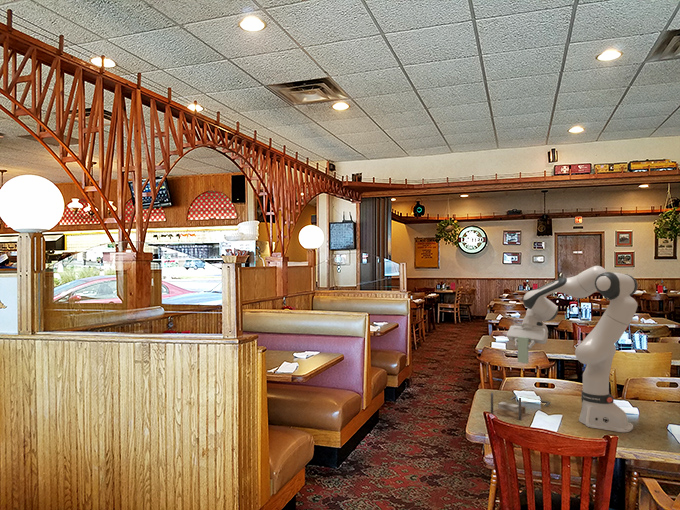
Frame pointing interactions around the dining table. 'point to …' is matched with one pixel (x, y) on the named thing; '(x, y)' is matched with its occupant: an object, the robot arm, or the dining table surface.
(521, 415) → the rack
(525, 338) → the grey-green rectangular block
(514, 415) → the offcut lower
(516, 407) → the offcut upper
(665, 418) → the dining table surface
